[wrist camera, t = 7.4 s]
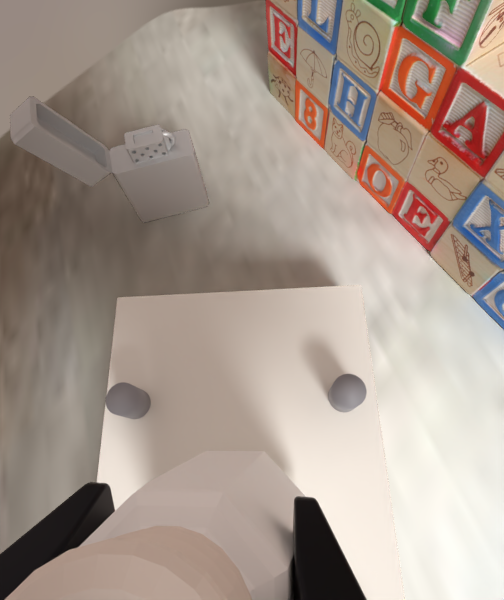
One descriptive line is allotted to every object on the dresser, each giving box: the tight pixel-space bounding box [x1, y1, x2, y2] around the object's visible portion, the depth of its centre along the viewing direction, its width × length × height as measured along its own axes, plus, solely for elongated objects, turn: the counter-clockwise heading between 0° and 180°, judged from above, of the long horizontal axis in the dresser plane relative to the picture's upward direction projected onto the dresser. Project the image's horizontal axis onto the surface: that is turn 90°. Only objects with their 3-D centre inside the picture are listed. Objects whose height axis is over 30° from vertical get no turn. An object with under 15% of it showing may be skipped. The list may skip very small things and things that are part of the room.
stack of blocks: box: [266, 0, 504, 329], centre depth 17 cm, size 21×6×12 cm, turn 34°
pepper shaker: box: [5, 451, 306, 600], centre depth 8 cm, size 5×5×11 cm
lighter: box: [10, 96, 209, 223], centre depth 20 cm, size 7×2×8 cm, turn 104°
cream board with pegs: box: [97, 285, 405, 600], centre depth 14 cm, size 22×11×5 cm, turn 1°
